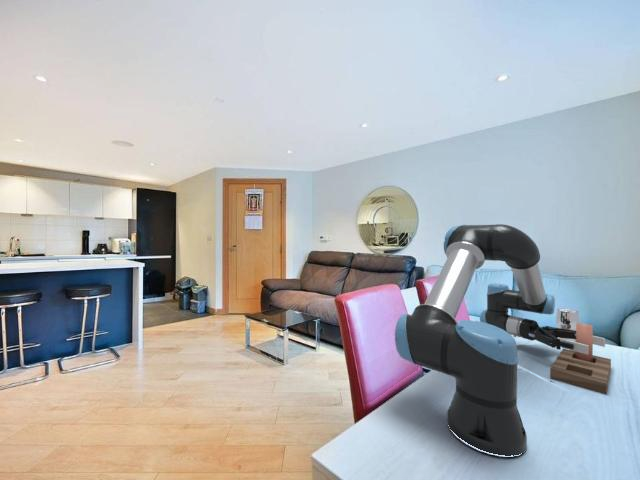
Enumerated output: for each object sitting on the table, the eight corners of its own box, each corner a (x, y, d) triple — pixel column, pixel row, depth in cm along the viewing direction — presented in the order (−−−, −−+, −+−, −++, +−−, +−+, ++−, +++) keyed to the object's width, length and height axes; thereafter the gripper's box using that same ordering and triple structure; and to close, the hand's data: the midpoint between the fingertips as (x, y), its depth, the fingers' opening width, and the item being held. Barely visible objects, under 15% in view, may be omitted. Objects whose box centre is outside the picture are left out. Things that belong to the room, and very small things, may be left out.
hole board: (606, 398, 77) (606, 383, 77) (550, 381, 86) (550, 368, 86) (610, 371, 93) (610, 359, 93) (563, 359, 102) (563, 348, 102)
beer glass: (555, 343, 118) (555, 307, 118) (577, 347, 114) (577, 310, 114) (556, 348, 112) (557, 310, 112) (580, 352, 108) (580, 313, 108)
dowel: (585, 370, 91) (585, 326, 91) (572, 364, 95) (573, 323, 95) (595, 369, 92) (596, 326, 92) (582, 364, 96) (583, 322, 96)
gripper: (538, 332, 116) (610, 350, 97) (505, 343, 103) (580, 365, 85) (539, 314, 116) (610, 328, 97) (505, 322, 103) (580, 340, 85)
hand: (596, 346), depth 91 cm, fingers open, 13 cm apart
